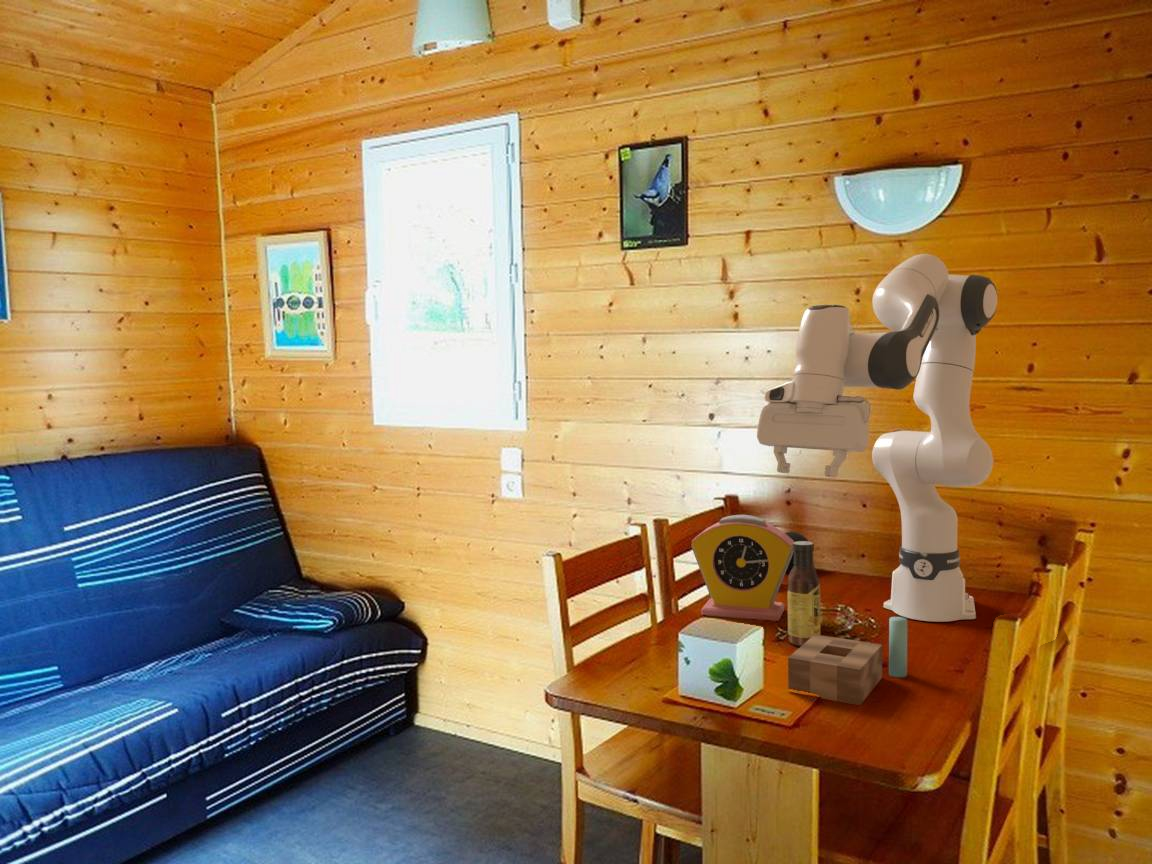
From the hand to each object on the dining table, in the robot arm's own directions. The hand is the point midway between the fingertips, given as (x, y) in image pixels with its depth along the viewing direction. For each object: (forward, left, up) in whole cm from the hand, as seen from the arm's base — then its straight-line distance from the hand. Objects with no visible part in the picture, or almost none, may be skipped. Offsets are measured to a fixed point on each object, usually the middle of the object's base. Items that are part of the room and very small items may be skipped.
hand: (806, 474), depth 159 cm
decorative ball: (-72, -28, -36) cm, 85 cm away
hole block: (0, +5, -36) cm, 37 cm away
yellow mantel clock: (-32, -25, -36) cm, 54 cm away
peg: (-10, +13, -36) cm, 40 cm away
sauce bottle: (-19, -7, -36) cm, 41 cm away
